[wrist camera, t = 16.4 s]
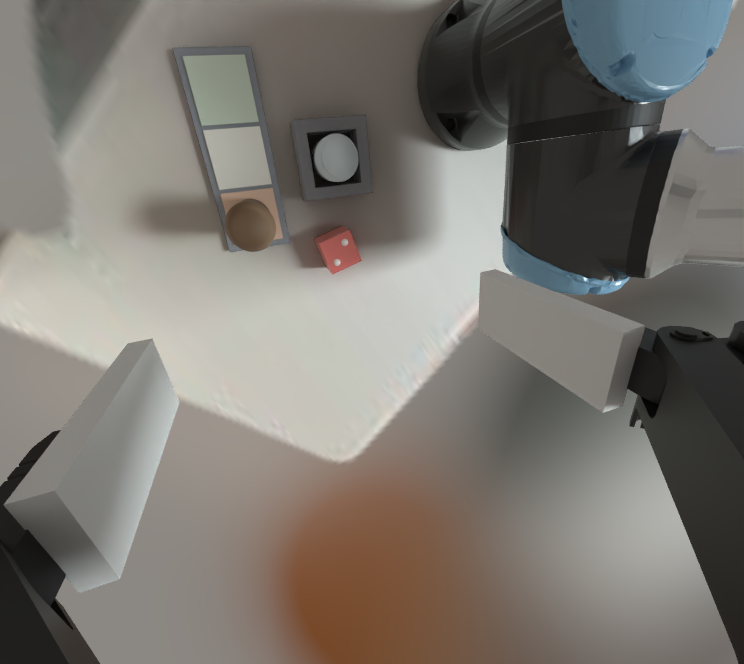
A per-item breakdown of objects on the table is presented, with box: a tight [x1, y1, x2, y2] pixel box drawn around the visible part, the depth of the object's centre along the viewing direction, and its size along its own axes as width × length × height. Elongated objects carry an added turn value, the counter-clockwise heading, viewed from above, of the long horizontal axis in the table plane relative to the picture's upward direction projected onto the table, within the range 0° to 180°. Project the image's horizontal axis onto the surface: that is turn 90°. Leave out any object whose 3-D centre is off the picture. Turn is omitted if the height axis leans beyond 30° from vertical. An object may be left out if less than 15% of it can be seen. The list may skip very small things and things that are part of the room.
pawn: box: [225, 199, 276, 252], centre depth 34 cm, size 4×4×11 cm
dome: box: [312, 134, 359, 182], centre depth 37 cm, size 5×5×4 cm
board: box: [173, 46, 290, 252], centre depth 37 cm, size 7×19×1 cm, turn 6°
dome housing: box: [290, 115, 373, 201], centre depth 38 cm, size 8×8×3 cm
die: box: [314, 226, 362, 274], centre depth 42 cm, size 4×4×4 cm
